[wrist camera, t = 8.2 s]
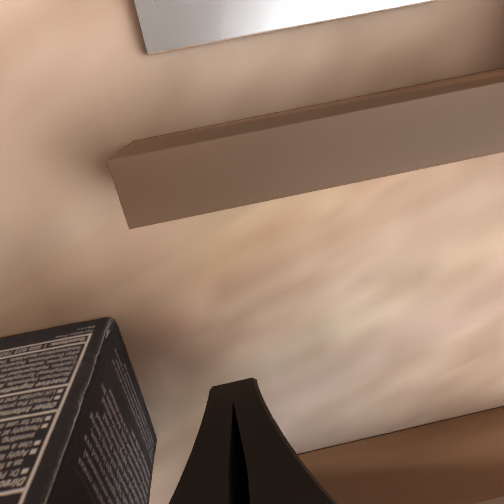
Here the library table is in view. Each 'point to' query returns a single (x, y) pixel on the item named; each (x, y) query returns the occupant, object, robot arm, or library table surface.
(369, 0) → the bookend
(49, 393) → the small box
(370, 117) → the chute
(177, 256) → the library table surface
